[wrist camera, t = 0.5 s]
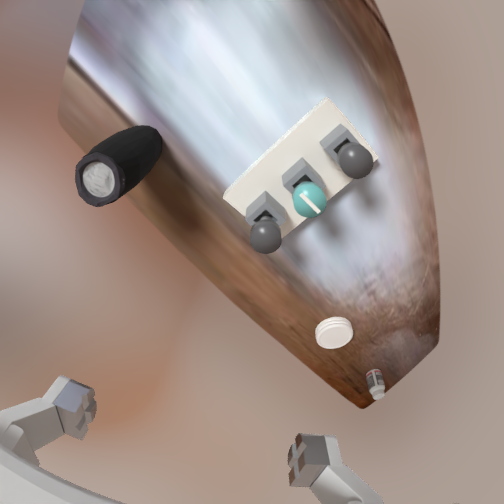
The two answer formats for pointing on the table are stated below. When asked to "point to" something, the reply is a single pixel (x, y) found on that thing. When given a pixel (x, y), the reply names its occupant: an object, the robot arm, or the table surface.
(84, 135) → the table surface
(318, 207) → the teal dial
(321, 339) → the white jar lid
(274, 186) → the mount panel
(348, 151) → the near knob
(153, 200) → the table surface
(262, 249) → the far knob
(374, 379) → the pill bottle
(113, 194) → the portable speaker
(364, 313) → the table surface
